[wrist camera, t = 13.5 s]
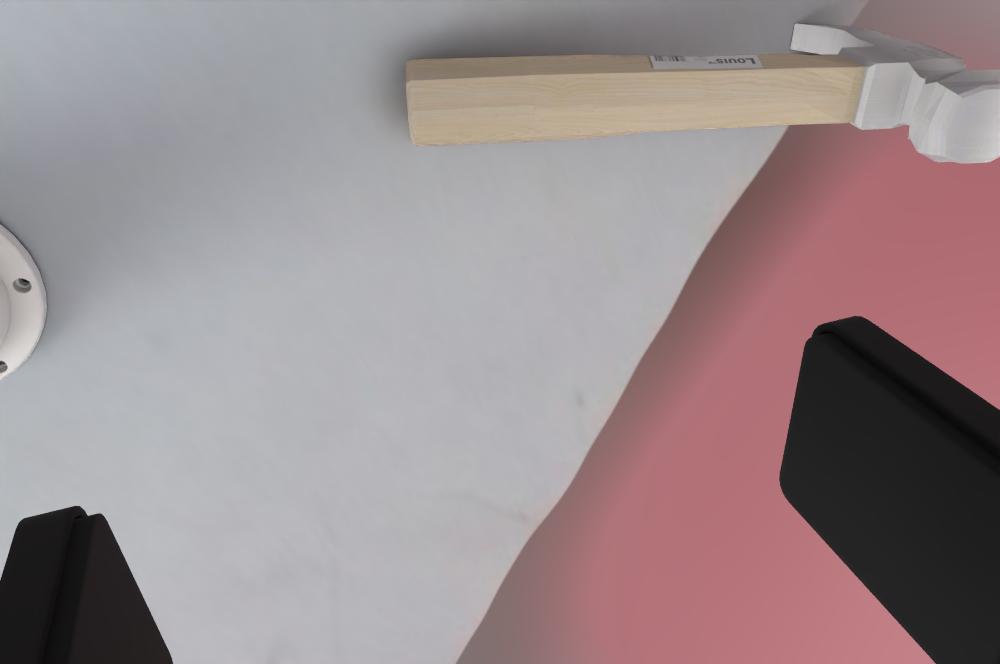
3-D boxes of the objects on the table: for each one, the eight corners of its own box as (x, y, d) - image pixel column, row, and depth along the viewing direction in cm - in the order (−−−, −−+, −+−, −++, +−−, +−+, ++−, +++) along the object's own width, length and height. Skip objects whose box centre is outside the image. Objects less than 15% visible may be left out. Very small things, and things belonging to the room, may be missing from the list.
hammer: (407, 195, 36) (1011, 171, 38) (399, 96, 34) (1046, 74, 35) (415, 105, 49) (861, 90, 51) (410, 30, 47) (879, 16, 48)
